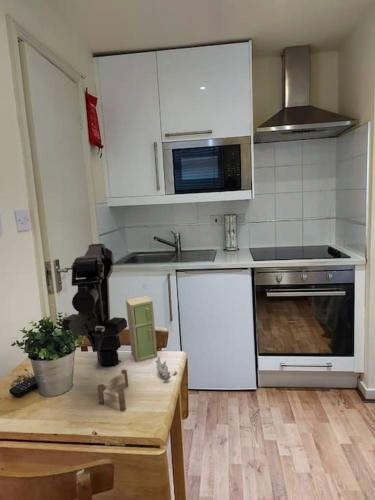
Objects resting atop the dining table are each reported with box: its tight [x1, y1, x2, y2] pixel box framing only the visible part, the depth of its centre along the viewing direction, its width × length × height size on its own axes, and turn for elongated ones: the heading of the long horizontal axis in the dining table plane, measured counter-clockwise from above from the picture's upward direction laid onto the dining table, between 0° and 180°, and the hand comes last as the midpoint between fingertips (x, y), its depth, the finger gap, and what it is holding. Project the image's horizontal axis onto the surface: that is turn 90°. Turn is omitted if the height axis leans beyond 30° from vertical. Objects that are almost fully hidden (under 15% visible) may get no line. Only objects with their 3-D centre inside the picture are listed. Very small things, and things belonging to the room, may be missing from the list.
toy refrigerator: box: [125, 295, 158, 363], centre depth 123 cm, size 8×7×21 cm
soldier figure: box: [155, 357, 178, 382], centre depth 112 cm, size 8×5×12 cm
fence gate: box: [103, 369, 129, 393], centre depth 102 cm, size 9×2×5 cm, turn 146°
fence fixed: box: [97, 384, 127, 412], centre depth 96 cm, size 9×2×6 cm, turn 61°
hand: (97, 351), depth 103 cm, fingers closed
